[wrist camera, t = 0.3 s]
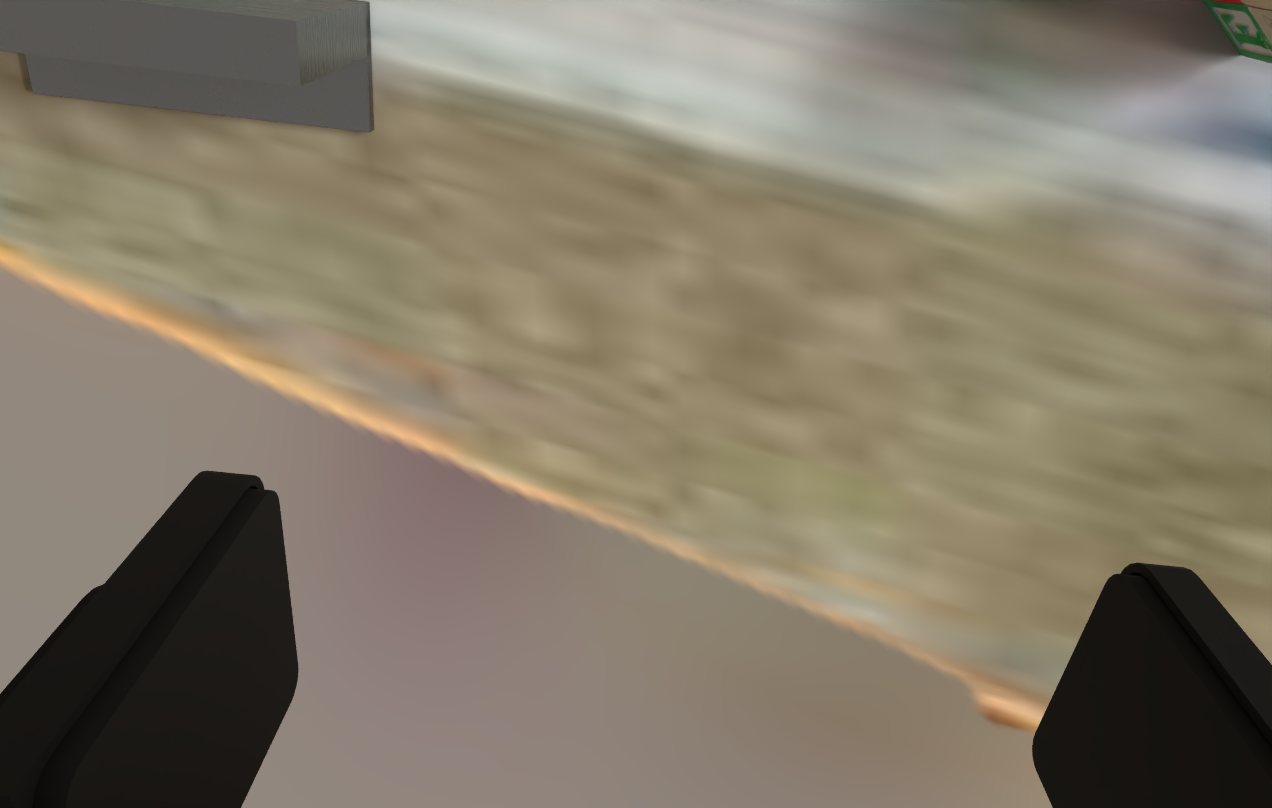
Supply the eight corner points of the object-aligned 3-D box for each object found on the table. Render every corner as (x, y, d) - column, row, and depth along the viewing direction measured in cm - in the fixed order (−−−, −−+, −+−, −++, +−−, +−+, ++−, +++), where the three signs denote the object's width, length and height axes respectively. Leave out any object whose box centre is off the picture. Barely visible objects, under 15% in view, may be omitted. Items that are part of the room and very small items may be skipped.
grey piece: (14, -42, 34) (-151, -33, 27) (369, 2, 35) (296, 21, 28) (41, 90, 37) (-104, 129, 30) (373, 129, 37) (307, 176, 30)
